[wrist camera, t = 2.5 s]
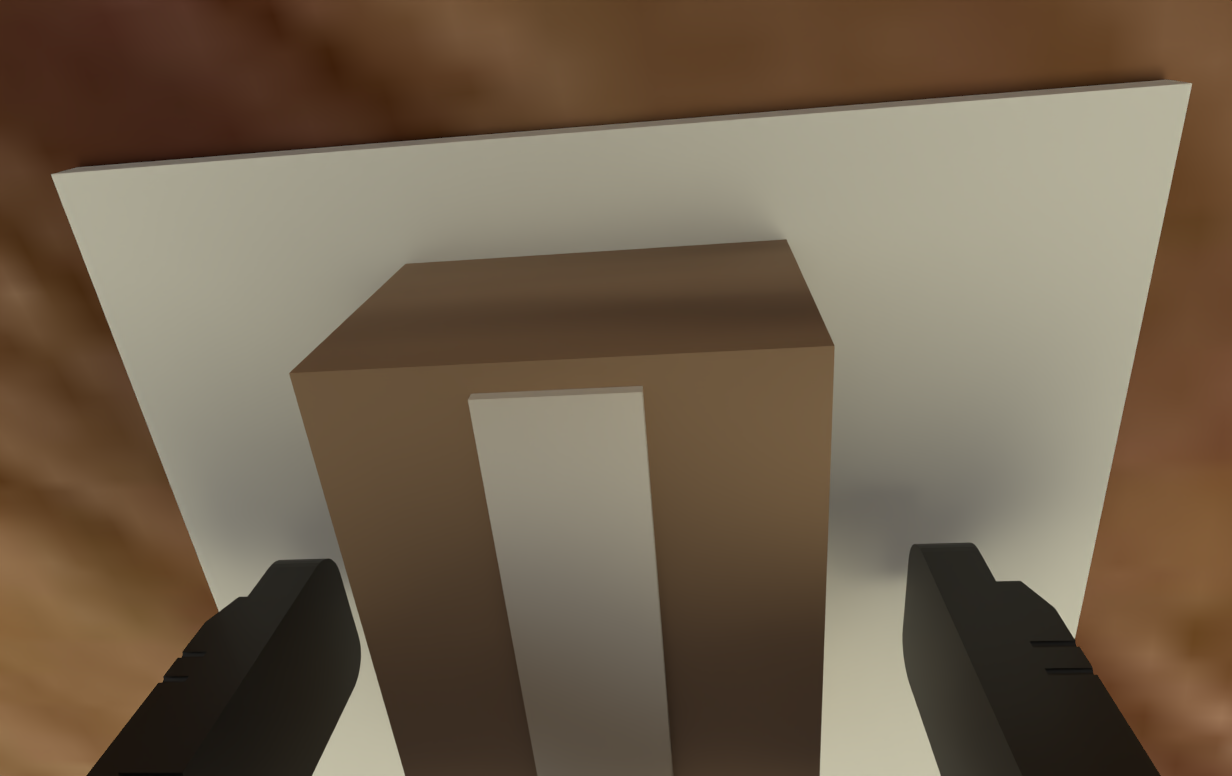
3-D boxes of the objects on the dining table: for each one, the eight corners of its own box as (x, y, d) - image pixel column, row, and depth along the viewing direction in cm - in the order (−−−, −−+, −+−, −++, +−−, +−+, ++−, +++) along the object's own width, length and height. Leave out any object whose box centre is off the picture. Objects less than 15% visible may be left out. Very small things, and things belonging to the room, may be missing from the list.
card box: (405, 264, 11) (282, 379, 7) (786, 239, 10) (836, 351, 7) (503, 742, 14) (452, 958, 11) (783, 742, 14) (814, 968, 11)
